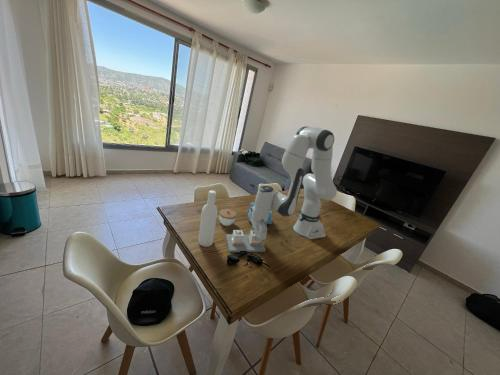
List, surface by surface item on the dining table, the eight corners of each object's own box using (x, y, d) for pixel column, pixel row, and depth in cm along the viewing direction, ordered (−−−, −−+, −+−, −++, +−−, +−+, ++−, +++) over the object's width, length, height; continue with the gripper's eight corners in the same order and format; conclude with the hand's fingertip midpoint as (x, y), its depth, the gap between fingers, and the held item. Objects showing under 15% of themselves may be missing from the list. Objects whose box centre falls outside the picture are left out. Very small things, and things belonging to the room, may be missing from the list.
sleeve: (257, 238, 120) (259, 230, 118) (259, 245, 115) (262, 236, 113) (247, 238, 118) (249, 229, 116) (250, 245, 113) (252, 236, 111)
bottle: (194, 242, 108) (200, 191, 97) (203, 235, 115) (210, 187, 104) (207, 249, 106) (214, 196, 95) (215, 241, 112) (223, 192, 102)
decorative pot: (271, 230, 134) (276, 212, 129) (246, 225, 133) (251, 207, 128) (268, 217, 150) (273, 201, 145) (247, 213, 148) (250, 196, 143)
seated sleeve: (240, 238, 117) (242, 229, 115) (242, 245, 112) (244, 236, 110) (230, 238, 116) (232, 229, 113) (232, 245, 110) (234, 236, 108)
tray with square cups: (258, 236, 125) (260, 225, 122) (265, 251, 112) (268, 240, 110) (225, 235, 119) (227, 224, 116) (229, 252, 107) (231, 240, 104)
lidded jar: (214, 223, 129) (216, 210, 125) (224, 217, 138) (226, 204, 134) (228, 230, 125) (230, 217, 121) (237, 223, 134) (240, 211, 130)
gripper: (272, 226, 102) (266, 248, 107) (260, 206, 120) (255, 226, 125) (260, 225, 100) (254, 248, 105) (250, 205, 118) (245, 226, 123)
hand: (255, 236), depth 115 cm, fingers open, 6 cm apart
